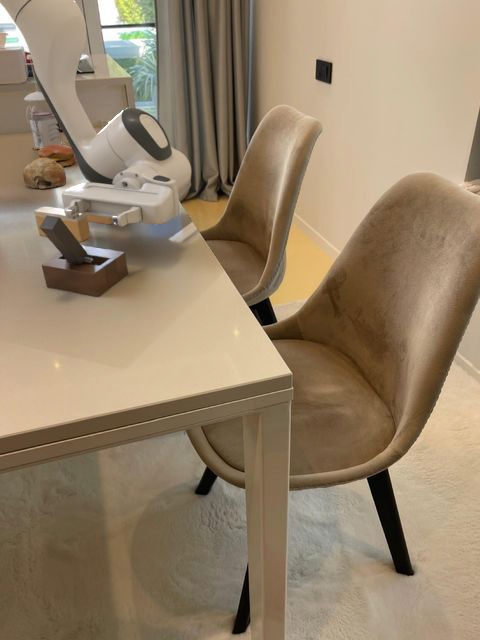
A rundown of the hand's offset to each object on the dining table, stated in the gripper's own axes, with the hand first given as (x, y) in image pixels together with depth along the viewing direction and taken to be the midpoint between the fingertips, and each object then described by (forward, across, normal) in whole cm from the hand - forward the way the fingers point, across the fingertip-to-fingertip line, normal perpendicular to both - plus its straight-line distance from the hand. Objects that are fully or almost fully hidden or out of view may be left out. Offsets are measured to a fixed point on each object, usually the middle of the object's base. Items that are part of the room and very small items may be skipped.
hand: (92, 218), depth 92 cm
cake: (-23, -16, +10) cm, 30 cm away
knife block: (+4, 0, +10) cm, 10 cm away
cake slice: (-11, -16, +10) cm, 22 cm away
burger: (-54, -51, +10) cm, 75 cm away
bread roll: (-38, -43, +10) cm, 58 cm away
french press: (-68, -67, +10) cm, 96 cm away
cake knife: (+3, 0, +9) cm, 10 cm away
